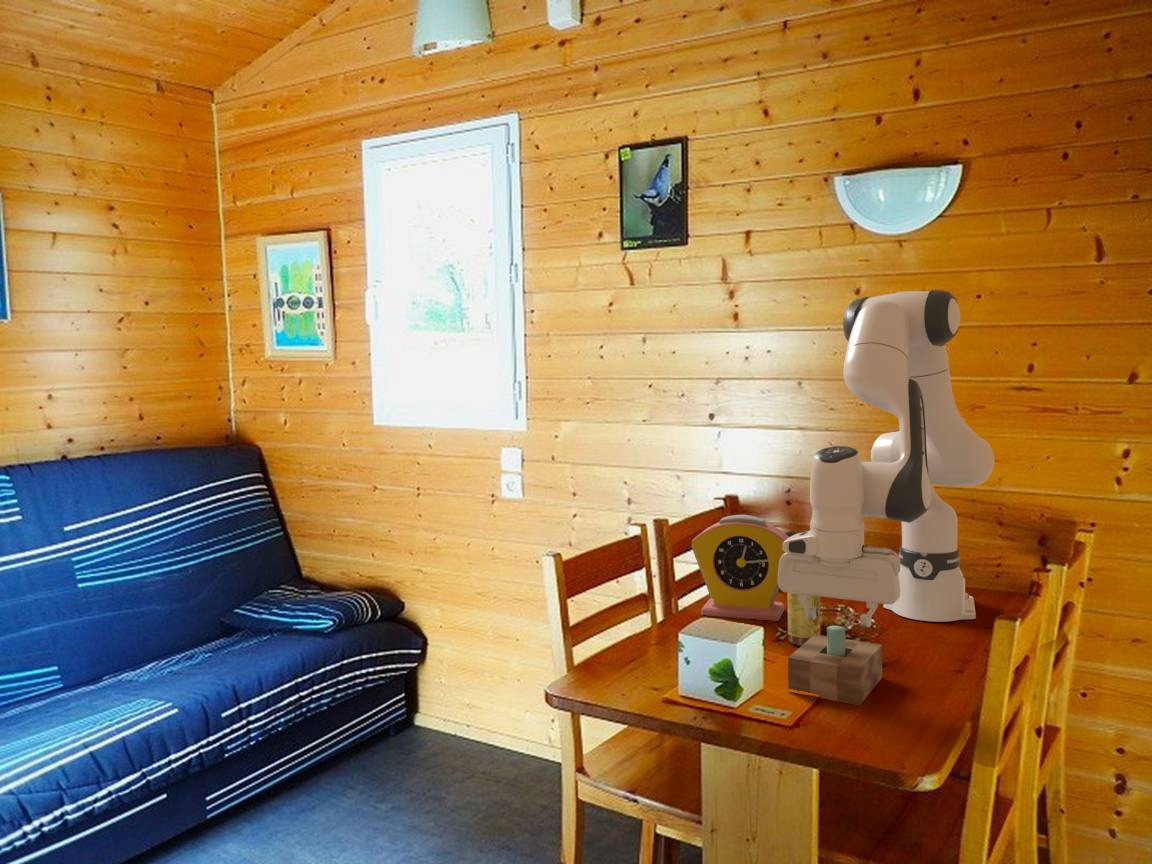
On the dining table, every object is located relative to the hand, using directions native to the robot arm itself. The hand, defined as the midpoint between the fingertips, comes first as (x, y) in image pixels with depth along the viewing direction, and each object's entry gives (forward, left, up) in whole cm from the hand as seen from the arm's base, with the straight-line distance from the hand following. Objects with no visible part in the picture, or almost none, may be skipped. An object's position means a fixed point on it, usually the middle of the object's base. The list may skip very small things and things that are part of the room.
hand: (837, 622), depth 158 cm
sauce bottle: (-19, -12, -11) cm, 25 cm away
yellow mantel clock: (-32, -30, -11) cm, 45 cm away
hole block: (0, 0, -11) cm, 11 cm away
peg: (0, 0, -11) cm, 11 cm away
